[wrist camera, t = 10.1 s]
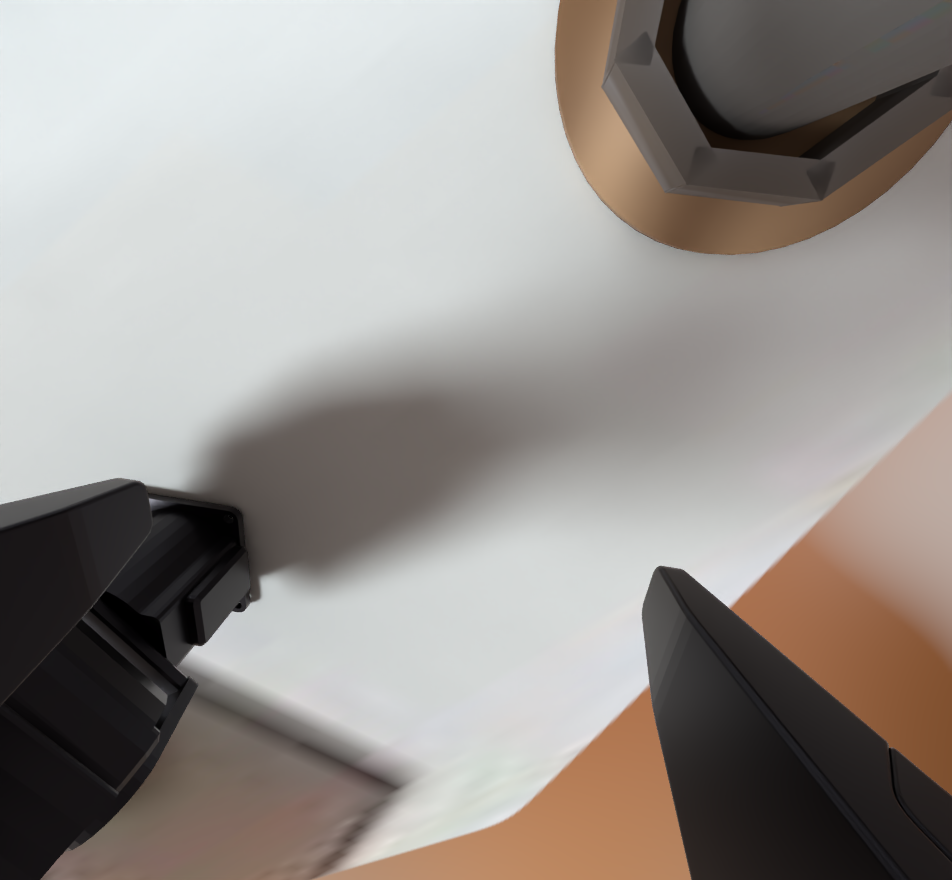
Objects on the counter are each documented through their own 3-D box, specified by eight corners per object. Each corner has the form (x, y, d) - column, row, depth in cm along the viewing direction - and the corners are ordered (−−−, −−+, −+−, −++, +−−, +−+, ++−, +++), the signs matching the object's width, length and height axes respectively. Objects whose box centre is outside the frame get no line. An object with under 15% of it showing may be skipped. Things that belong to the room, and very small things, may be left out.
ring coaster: (526, 231, 18) (526, 229, 15) (600, -281, 13) (622, -438, 10) (878, 275, 18) (951, 281, 15) (1096, -245, 13) (1278, -401, 10)
